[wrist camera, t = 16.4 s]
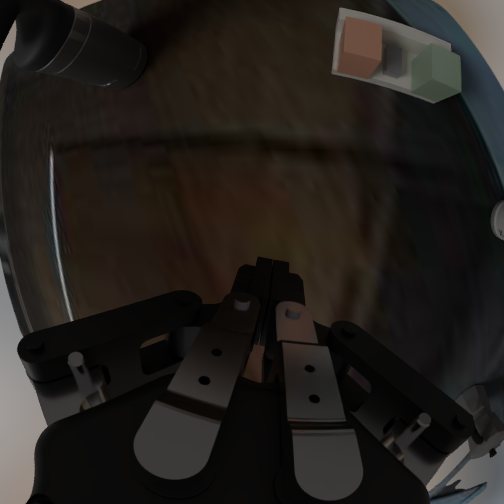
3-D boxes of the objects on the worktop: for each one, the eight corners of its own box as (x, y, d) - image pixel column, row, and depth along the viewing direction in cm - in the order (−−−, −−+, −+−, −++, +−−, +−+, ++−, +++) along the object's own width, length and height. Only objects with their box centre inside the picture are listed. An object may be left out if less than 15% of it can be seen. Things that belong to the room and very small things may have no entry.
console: (331, 73, 30) (336, 57, 24) (335, 27, 27) (339, 7, 22) (433, 103, 28) (452, 95, 22) (433, 57, 25) (450, 43, 20)
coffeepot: (492, 391, 39) (519, 443, 22) (464, 417, 42) (484, 471, 25) (469, 371, 38) (501, 434, 21) (436, 401, 42) (458, 466, 25)
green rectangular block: (410, 92, 26) (432, 78, 20) (411, 61, 25) (431, 42, 18) (436, 102, 26) (461, 91, 19) (437, 71, 24) (460, 56, 18)
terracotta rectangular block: (336, 72, 28) (343, 51, 21) (339, 40, 26) (345, 16, 20) (367, 79, 27) (381, 61, 21) (369, 47, 26) (381, 25, 19)
